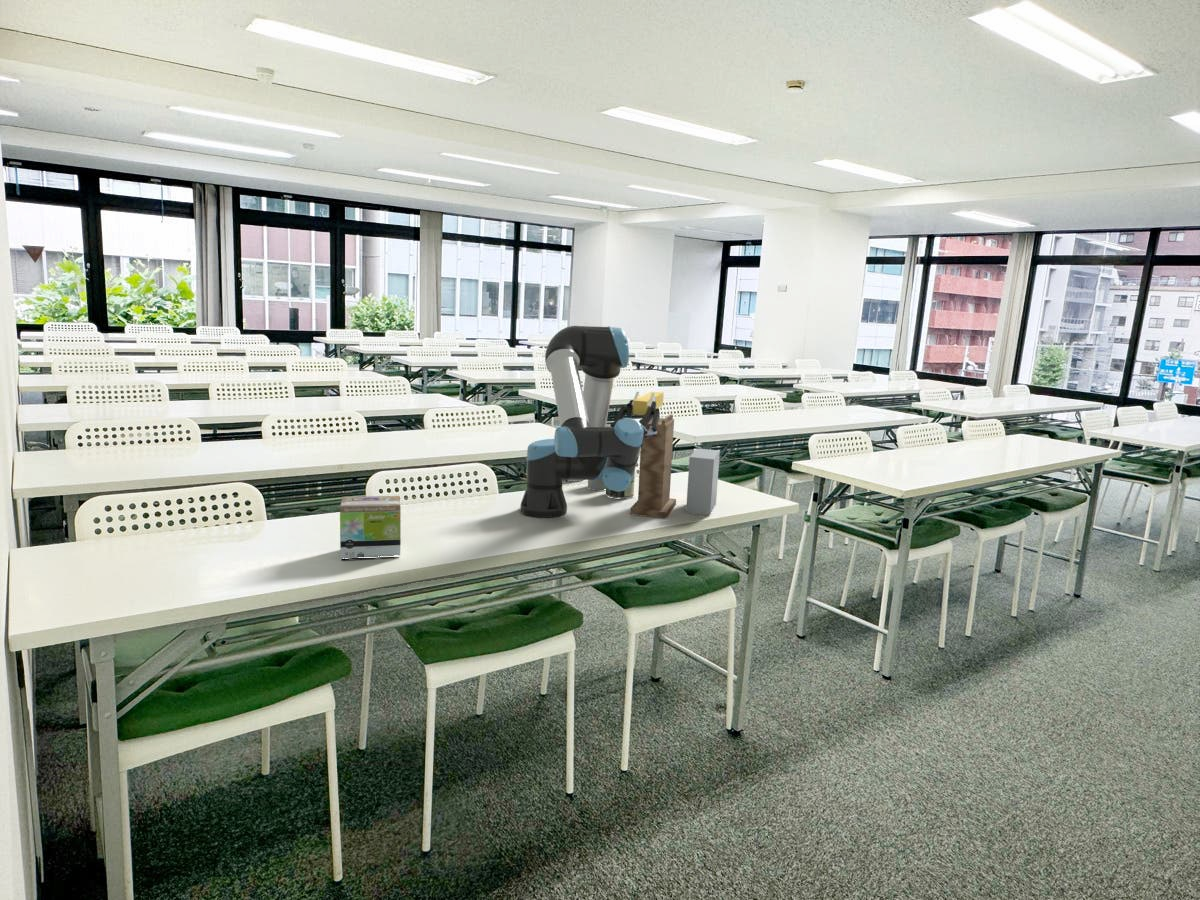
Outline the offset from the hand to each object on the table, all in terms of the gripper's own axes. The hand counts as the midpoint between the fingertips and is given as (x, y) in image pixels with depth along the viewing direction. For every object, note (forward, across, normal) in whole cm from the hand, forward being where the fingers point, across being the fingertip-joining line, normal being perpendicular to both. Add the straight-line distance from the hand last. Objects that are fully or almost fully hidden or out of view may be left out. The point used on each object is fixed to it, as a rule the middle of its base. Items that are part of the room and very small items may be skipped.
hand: (645, 395), depth 221 cm
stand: (-1, 0, -46) cm, 46 cm away
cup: (+17, -25, -57) cm, 64 cm away
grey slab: (+6, +15, -50) cm, 53 cm away
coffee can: (+10, -15, -53) cm, 56 cm away
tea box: (-64, -61, -10) cm, 89 cm away
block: (+2, 0, -7) cm, 7 cm away
